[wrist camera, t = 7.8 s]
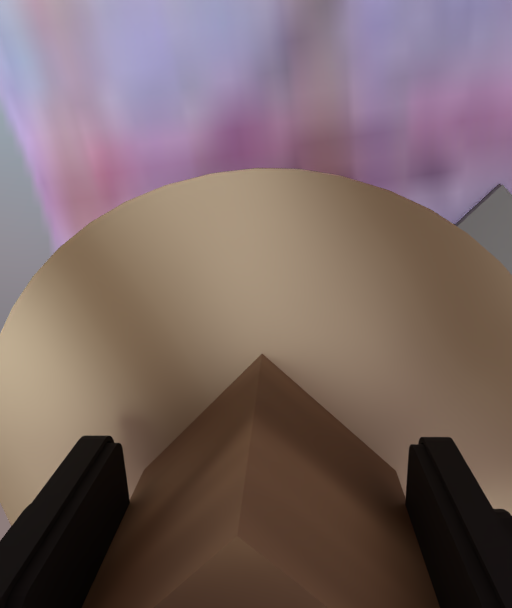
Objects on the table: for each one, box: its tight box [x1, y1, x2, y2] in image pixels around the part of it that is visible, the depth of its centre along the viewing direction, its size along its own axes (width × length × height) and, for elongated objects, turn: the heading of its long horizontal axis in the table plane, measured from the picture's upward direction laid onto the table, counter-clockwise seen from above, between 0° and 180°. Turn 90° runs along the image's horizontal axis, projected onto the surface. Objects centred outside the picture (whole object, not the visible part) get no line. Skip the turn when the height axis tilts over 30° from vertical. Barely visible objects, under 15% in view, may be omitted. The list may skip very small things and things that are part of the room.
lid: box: [0, 168, 512, 608], centre depth 9 cm, size 13×13×6 cm
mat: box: [455, 184, 512, 275], centre depth 38 cm, size 15×15×1 cm
